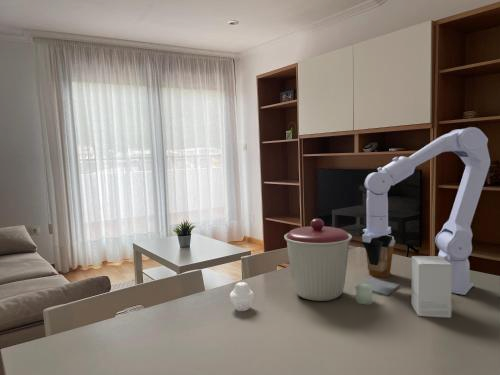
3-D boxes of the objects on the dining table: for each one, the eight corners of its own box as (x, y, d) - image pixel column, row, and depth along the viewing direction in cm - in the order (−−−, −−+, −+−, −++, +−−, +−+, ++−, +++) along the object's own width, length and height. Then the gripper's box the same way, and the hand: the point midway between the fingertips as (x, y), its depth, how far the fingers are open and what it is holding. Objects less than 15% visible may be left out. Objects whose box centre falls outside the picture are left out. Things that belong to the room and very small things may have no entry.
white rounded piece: (259, 307, 96) (258, 281, 95) (242, 315, 91) (241, 287, 91) (242, 302, 100) (241, 276, 100) (225, 309, 96) (224, 282, 95)
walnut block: (373, 265, 110) (373, 245, 109) (387, 268, 107) (387, 247, 106) (367, 269, 107) (367, 248, 106) (381, 271, 104) (381, 250, 103)
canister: (277, 302, 99) (274, 223, 97) (295, 280, 115) (293, 212, 114) (347, 311, 92) (346, 226, 90) (356, 286, 109) (355, 214, 107)
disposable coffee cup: (361, 269, 124) (361, 233, 123) (391, 269, 123) (391, 233, 122) (366, 279, 115) (365, 240, 114) (398, 279, 113) (398, 240, 112)
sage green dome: (360, 297, 101) (360, 282, 100) (375, 300, 98) (375, 285, 98) (353, 301, 98) (353, 286, 97) (368, 305, 95) (368, 290, 95)
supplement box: (452, 318, 86) (452, 264, 85) (417, 316, 88) (417, 263, 87) (442, 305, 93) (442, 255, 92) (410, 304, 95) (410, 255, 94)
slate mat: (369, 280, 114) (369, 278, 114) (399, 286, 108) (399, 284, 108) (355, 288, 107) (355, 286, 107) (386, 295, 101) (386, 293, 101)
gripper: (374, 210, 114) (374, 254, 115) (351, 217, 103) (352, 266, 104) (398, 212, 109) (398, 258, 110) (376, 220, 98) (376, 270, 99)
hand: (377, 262), depth 107 cm, fingers closed on walnut block, 4 cm apart
